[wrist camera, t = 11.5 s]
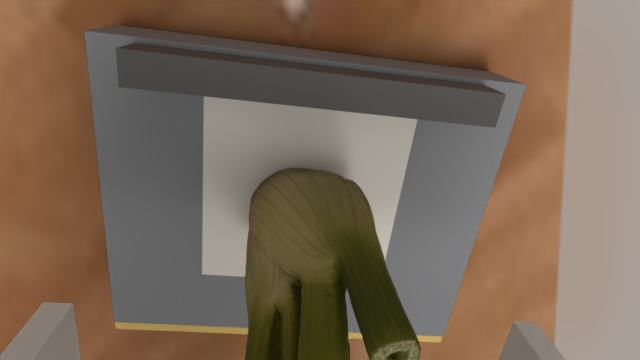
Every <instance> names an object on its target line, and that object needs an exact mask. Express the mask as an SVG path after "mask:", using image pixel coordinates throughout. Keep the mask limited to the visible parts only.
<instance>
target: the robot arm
mask: <svg viewBox="0 0 640 360" xmlns="http://www.w3.org/2000/svg"><path fill="white" fill-rule="evenodd" d="M0 360H81V355H80V348H79V341H78V334H77V327H76V320H75V313H74V306H73V303H49V302H43V303H42V305H41V306H40V307H39V308H38V310H37V311H36V312H35V313H34V314H33V316H32V317H31V318H30V319H29V321H28V322H27V323H26V324H25V326H24V327H23V328H22V329H21V330H20V332H19V333H18V334H17V335H16V337H15V338H14V339H13V340H12V341H11V343H10V344H9V345H8V346H7V348H6V349H5V350H4V351H3V353H2V354H1V355H0ZM499 360H566V359H565V358H564V357H563V356H562V355H561V353H560V352H559V351H558V349H557V348H556V347H555V346H554V344H553V343H552V342H551V341H550V339H549V338H548V337H547V336H546V334H545V333H544V332H543V331H542V329H541V328H540V327H539V325H538V324H537V323H536V322H514V323H513V325H512V328H511V330H510V333H509V335H508V338H507V340H506V343H505V345H504V348H503V350H502V353H501V355H500V358H499Z"/></svg>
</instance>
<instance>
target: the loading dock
mask: <svg viewBox="0 0 640 360" xmlns="http://www.w3.org/2000/svg"><path fill="white" fill-rule="evenodd" d="M84 34H85V44H86V53H87V63H88V73H89V82H90V92H91V102H92V112H93V121H94V131H95V141H96V150H97V160H98V170H99V179H100V189H101V199H102V208H103V218H104V228H105V237H106V247H107V257H108V266H109V276H110V286H111V295H112V305H113V315H114V322H115V326H116V329H134V330H158V331H182V332H206V333H229V334H248V314H247V305H246V296H245V270H246V269H245V268H246V251H247V239H248V232H249V212H250V200H251V197H252V195H253V193H254V191H255V190H256V188H257V187H258V186H259V184H260V183H261V182H262V181H263V180H265V179H266V178H267V177H269V176H270V175H272V174H273V173H275V172H277V171H280V170H283V169H287V168H302V169H303V168H307V169H314V170H323V171H328V172H332V173H335V174H337V175H341V176H343V177H344V178H345V179H349V180H352V181H354V182H356V184H357V185H358V186H360V188H361V189H362V191H363V193H364V195H365V197H366V198H367V200H368V202H369V204H370V207H371V210H372V212H373V217H374V223H375V229H376V233H377V236H378V239H379V243H380V245H381V248H382V252H383V255H384V259H385V263H386V266H387V269H388V272H389V275H390V277H391V279H392V282H393V284H394V287H395V289H396V291H397V294H398V297H399V299H400V301H401V303H402V306H403V308H404V311H405V313H406V315H407V317H408V319H409V321H410V323H411V325H412V327H413V329H414V331H415V333H416V336H417V338H418V341H420V342H441V339H442V336H444V333H445V330H446V327H447V324H448V321H449V317H450V314H451V311H452V308H453V305H454V302H455V299H456V296H457V293H458V290H459V287H460V284H461V281H462V278H463V275H464V272H465V269H466V266H467V263H468V260H469V257H470V254H471V251H472V248H473V245H474V242H475V239H476V236H477V233H478V230H479V227H480V223H481V220H482V217H483V214H484V211H485V208H486V205H487V202H488V199H489V196H490V193H491V190H492V187H493V184H494V181H495V178H496V175H497V172H498V169H499V166H500V163H501V160H502V157H503V154H504V151H505V148H506V145H507V142H508V139H509V136H510V133H511V129H512V126H513V123H514V120H515V117H516V114H517V111H518V108H519V105H520V102H521V99H522V96H523V93H524V90H525V87H526V84H523V83H520V82H517V81H514V80H512V79H509V78H506V77H503V76H501V75H498V74H495V73H492V72H489V71H483V70H475V69H467V68H459V67H451V66H443V65H435V64H427V63H419V62H411V61H403V60H395V59H387V58H379V57H371V56H363V55H355V54H347V53H339V52H331V51H323V50H315V49H307V48H299V47H291V46H283V45H275V44H267V43H259V42H251V41H243V40H235V39H227V38H219V37H211V36H203V35H195V34H187V33H179V32H171V31H163V30H155V29H147V28H139V27H131V26H123V25H119V26H112V27H105V28H99V29H92V30H85V31H84ZM345 296H346V306H347V317H348V338H349V339H363V338H362V335H361V333H360V329H359V326H358V323H357V320H356V317H355V314H354V311H353V308H352V305H351V300H350V297H349V294H348V290H347V291H346V293H345Z"/></svg>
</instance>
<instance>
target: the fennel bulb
mask: <svg viewBox="0 0 640 360" xmlns="http://www.w3.org/2000/svg"><path fill="white" fill-rule="evenodd" d="M245 269H246V270H245V296H246V305H247V314H248V340H247V348H246V356H245V360H350V346H349V342H348V317H347V306H346V296H345V293H346V291H347V290H348V294H349V297H350V300H351V305H352V308H353V311H354V314H355V317H356V320H357V323H358V326H359V329H360V333H361V335H362V338H363V341H364V345H365V347H366V351H367V353H368V356H369V359H370V360H419V356H420V352H421V348H420V345H419V341H418V338H417V336H416V333H415V331H414V329H413V327H412V325H411V323H410V321H409V319H408V317H407V315H406V313H405V311H404V308H403V306H402V303H401V301H400V299H399V297H398V294H397V291H396V289H395V287H394V284H393V282H392V279H391V277H390V275H389V272H388V269H387V266H386V263H385V259H384V255H383V252H382V248H381V245H380V243H379V239H378V236H377V233H376V229H375V223H374V217H373V212H372V210H371V207H370V204H369V202H368V200H367V198H366V197H365V195H364V193H363V191H362V189H361V188H360V186H358V185H357V184H356V182H354V181H352V180H349V179H345V178H344V177H343V176H341V175H337V174H335V173H332V172H328V171H323V170H314V169H307V168H303V169H302V168H287V169H283V170H280V171H277V172H275V173H273V174H272V175H270V176H269V177H267V178H266V179H265V180H263V181H262V182H261V183H260V184H259V186H258V187H257V188H256V190H255V191H254V193H253V195H252V197H251V200H250V212H249V232H248V239H247V251H246V268H245Z"/></svg>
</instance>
